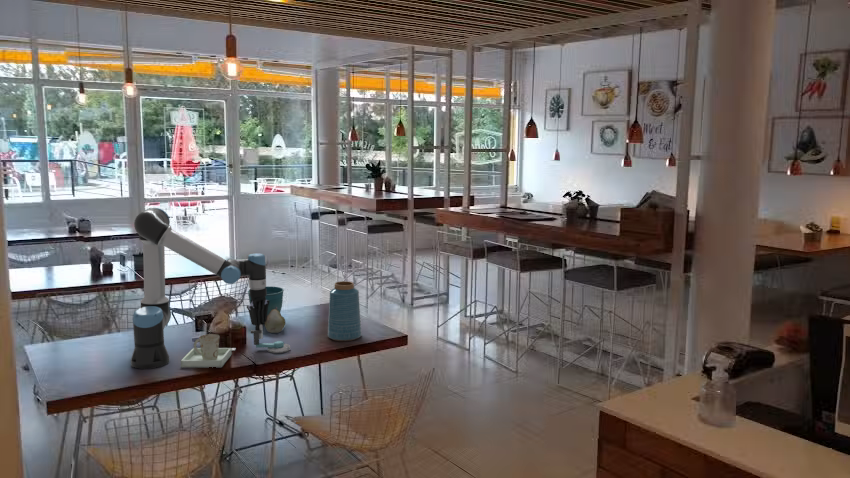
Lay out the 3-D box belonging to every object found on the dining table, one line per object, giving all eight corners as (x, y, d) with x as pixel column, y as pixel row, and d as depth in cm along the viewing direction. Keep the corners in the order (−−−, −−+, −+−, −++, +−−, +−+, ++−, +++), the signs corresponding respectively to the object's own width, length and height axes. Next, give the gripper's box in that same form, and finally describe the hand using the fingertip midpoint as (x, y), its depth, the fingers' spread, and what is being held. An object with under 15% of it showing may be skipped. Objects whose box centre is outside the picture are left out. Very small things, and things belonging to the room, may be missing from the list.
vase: (367, 338, 320) (367, 284, 316) (337, 344, 311) (336, 288, 307) (351, 330, 334) (351, 278, 329) (322, 335, 324) (321, 282, 320)
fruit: (284, 328, 335) (284, 305, 333) (286, 333, 326) (286, 310, 325) (263, 330, 332) (263, 306, 330) (265, 335, 323) (265, 311, 321)
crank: (284, 345, 304) (284, 329, 303) (283, 348, 299) (282, 331, 298) (252, 345, 303) (251, 329, 302) (250, 348, 299) (249, 332, 297)
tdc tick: (226, 350, 300) (226, 349, 300) (228, 349, 302) (228, 348, 302) (234, 350, 300) (234, 349, 300) (235, 349, 302) (235, 348, 302)
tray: (180, 367, 277) (180, 360, 277) (193, 354, 294) (193, 348, 294) (221, 367, 278) (221, 360, 278) (231, 354, 295) (231, 348, 294)
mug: (212, 363, 281) (211, 340, 280) (187, 360, 285) (186, 337, 283) (224, 357, 289) (223, 335, 288) (199, 354, 293) (198, 332, 291)
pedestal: (265, 353, 297) (265, 350, 296) (270, 346, 306) (270, 343, 306) (288, 353, 297) (288, 350, 297) (291, 346, 307) (291, 343, 307)
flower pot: (265, 328, 334) (265, 296, 332) (241, 323, 344) (240, 291, 341) (291, 320, 349) (290, 289, 347) (267, 315, 359) (266, 284, 356)
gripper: (254, 291, 292) (256, 343, 296) (273, 286, 303) (275, 335, 307) (241, 289, 296) (243, 340, 299) (261, 284, 307) (263, 333, 311)
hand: (259, 338), depth 303 cm, fingers closed
